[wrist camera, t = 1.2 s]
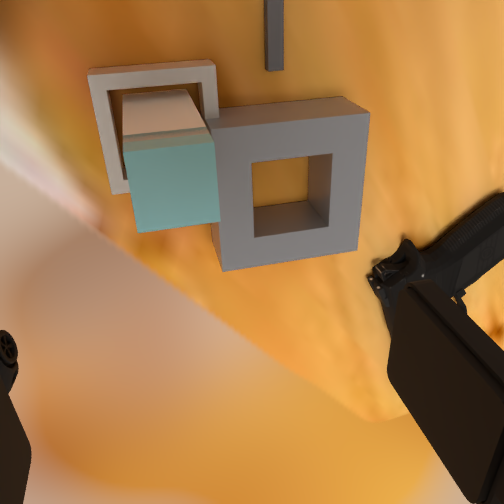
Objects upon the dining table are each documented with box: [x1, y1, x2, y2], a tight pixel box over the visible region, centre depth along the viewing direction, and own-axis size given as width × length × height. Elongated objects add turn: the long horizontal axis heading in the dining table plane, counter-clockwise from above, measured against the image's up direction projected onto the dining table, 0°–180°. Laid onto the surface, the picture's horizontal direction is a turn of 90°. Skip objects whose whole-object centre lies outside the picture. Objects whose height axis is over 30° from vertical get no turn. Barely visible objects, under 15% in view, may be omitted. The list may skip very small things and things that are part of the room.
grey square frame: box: [87, 59, 219, 195], centre depth 27 cm, size 7×7×2 cm
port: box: [205, 96, 370, 272], centre depth 30 cm, size 9×9×4 cm
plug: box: [123, 89, 221, 233], centre depth 24 cm, size 4×4×10 cm
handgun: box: [368, 192, 504, 338], centre depth 40 cm, size 3×17×12 cm
